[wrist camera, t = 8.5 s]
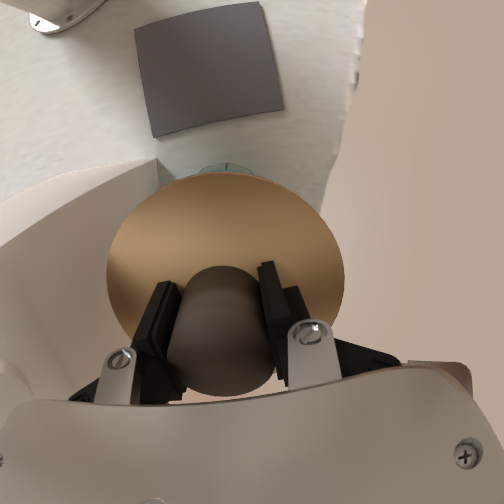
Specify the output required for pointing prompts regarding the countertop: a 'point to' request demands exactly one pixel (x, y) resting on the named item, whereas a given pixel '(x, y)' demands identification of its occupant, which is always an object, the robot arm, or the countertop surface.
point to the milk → (62, 279)
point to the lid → (222, 272)
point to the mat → (207, 67)
